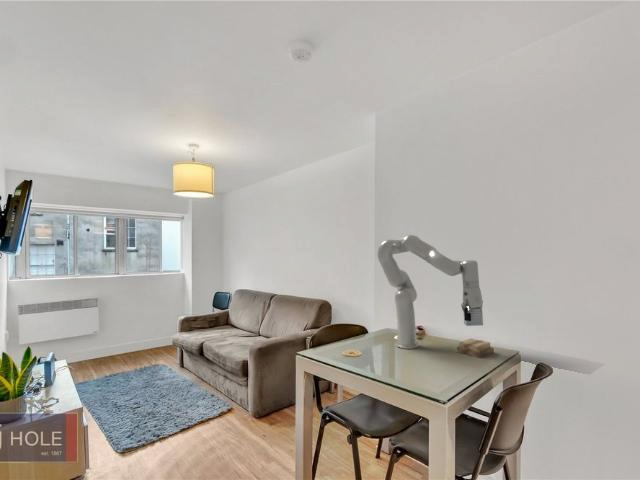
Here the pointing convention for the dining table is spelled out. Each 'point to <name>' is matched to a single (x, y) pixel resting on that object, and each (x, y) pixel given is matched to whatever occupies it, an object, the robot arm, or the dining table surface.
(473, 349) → the brown rock slab
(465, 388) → the dining table surface
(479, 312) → the medicine box
